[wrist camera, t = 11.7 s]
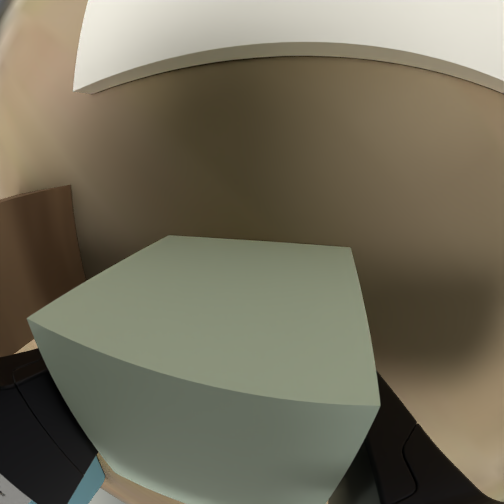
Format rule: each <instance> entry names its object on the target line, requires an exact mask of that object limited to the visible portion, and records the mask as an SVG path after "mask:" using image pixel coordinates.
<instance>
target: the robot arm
mask: <svg viewBox="0 0 504 504" xmlns="http://www.w3.org/2000/svg"><path fill="white" fill-rule="evenodd" d="M376 373H377V380H378V388H379V396H380V405H381V406H380V408H379V410H378V412H377V415H376V417H375V419H374V421H373V423H372V425H371V427H370V429H369V431H368V433H367V435H366V437H365V439H364V441H363V443H362V445H361V447H360V449H359V450H358V452H357V454H356V456H355V458H354V459H353V461H352V463H351V465H350V466H349V468H348V470H347V471H346V473H345V475H344V476H343V478H342V479H341V481H340V483H339V484H338V486H337V487H336V489H335V490H334V492H333V493H332V495H331V496H330V498H329V500H328V504H504V502H500V501H497V500H494V499H492V498H490V497H488V496H486V495H485V494H484V493H482V492H481V491H480V490H479V489H478V488H477V487H476V486H475V485H474V484H473V483H472V482H471V481H470V480H469V479H468V478H467V477H466V476H465V475H464V474H463V473H462V472H461V471H460V470H459V469H458V468H457V467H456V466H455V465H454V464H453V463H452V462H451V461H450V460H449V459H448V458H447V457H446V456H445V455H444V454H443V453H442V451H441V450H440V449H439V448H438V447H437V446H436V445H435V444H434V442H433V441H432V440H431V439H430V437H429V436H428V435H427V434H426V433H425V431H424V430H423V429H422V427H421V426H420V425H419V424H416V423H417V421H416V420H415V419H414V417H413V416H412V415H411V413H410V412H409V411H408V410H407V408H406V407H405V406H404V404H403V403H402V402H401V401H400V399H399V398H398V397H397V396H396V394H395V393H394V392H393V390H392V389H391V388H390V387H389V385H388V384H387V383H386V382H385V380H384V379H383V378H382V377H381V375H380V374H379V373H378V372H377V370H376ZM97 453H98V450H97V449H96V448H95V446H94V445H93V443H92V442H91V441H90V439H89V438H88V436H87V435H86V434H85V432H84V431H83V429H82V428H81V426H80V425H79V423H78V421H77V420H76V418H75V417H74V415H73V413H72V412H71V410H70V409H69V407H68V405H67V403H66V402H65V400H64V398H63V397H62V395H61V393H60V391H59V389H58V387H57V386H56V384H55V382H54V380H53V378H52V376H51V374H50V372H49V370H48V368H47V366H46V364H45V362H44V359H43V357H42V355H41V353H40V351H39V348H37V349H34V350H30V351H26V352H22V353H18V354H13V355H8V356H3V357H0V504H28V503H29V502H30V501H31V500H32V501H34V502H35V503H36V504H68V502H69V501H70V499H71V497H72V495H73V494H74V492H75V490H76V489H77V487H78V485H79V484H80V482H81V480H82V479H83V477H84V475H85V473H86V472H87V470H88V468H89V467H90V465H91V463H92V462H93V460H94V458H95V457H96V455H97Z"/></svg>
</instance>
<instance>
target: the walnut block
mask: <svg viewBox="0 0 504 504" xmlns="http://www.w3.org/2000/svg"><path fill="white" fill-rule="evenodd" d="M85 281H86V279H85V275H84V270H83V265H82V260H81V255H80V250H79V245H78V239H77V233H76V227H75V220H74V212H73V204H72V195H71V185H66V186H60V187H54V188H49V189H43V190H38V191H33V192H28V193H24V194H19V195H15V196H11V197H8V198H4V199H1V200H0V357H3V356H8V355H13V354H14V353H16V352H17V351H18V350H20V349H21V348H22V347H24V346H25V345H26V344H28V343H29V342H30V341H32V340H33V339H34V336H33V334H32V331H31V329H30V326H29V324H28V321H27V318H28V317H29V316H31V315H32V314H34V313H35V312H37V311H38V310H40V309H42V308H43V307H45V306H46V305H48V304H49V303H51V302H53V301H54V300H56V299H57V298H59V297H61V296H62V295H64V294H66V293H67V292H69V291H70V290H72V289H74V288H75V287H77V286H79V285H80V284H82V283H84V282H85Z"/></svg>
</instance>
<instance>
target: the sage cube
mask: <svg viewBox="0 0 504 504" xmlns="http://www.w3.org/2000/svg"><path fill="white" fill-rule="evenodd" d="M27 321H28V324H29V326H30V329H31V331H32V334H33V336H34V339H35V341H36V344H37V346H38V348H39V351H40V353H41V355H42V357H43V359H44V362H45V364H46V366H47V368H48V370H49V372H50V374H51V376H52V378H53V380H54V382H55V384H56V386H57V387H58V389H59V391H60V393H61V395H62V397H63V398H64V400H65V402H66V403H67V405H68V407H69V409H70V410H71V412H72V413H73V415H74V417H75V418H76V420H77V421H78V423H79V425H80V426H81V428H82V429H83V431H84V432H85V434H86V435H87V436H88V438H89V439H90V441H91V442H92V443H93V445H94V446H95V448H96V449H97V450H98V452H99V453H100V454H101V456H102V457H103V458H104V459H105V461H106V462H107V463H108V465H109V466H110V467H111V468H112V469H113V471H114V472H115V473H117V474H119V475H121V476H123V477H125V478H127V479H129V480H131V481H133V482H135V483H137V484H139V485H141V486H143V487H146V488H148V489H150V490H153V491H155V492H157V493H160V494H162V495H165V496H167V497H170V498H172V499H175V500H178V501H180V502H183V503H186V504H326V502H327V501H328V499H329V498H330V496H331V495H332V493H333V492H334V490H335V489H336V487H337V486H338V484H339V483H340V481H341V479H342V478H343V476H344V475H345V473H346V471H347V470H348V468H349V466H350V465H351V463H352V461H353V459H354V458H355V456H356V454H357V452H358V450H359V449H360V447H361V445H362V443H363V441H364V439H365V437H366V435H367V433H368V431H369V429H370V427H371V425H372V423H373V421H374V419H375V417H376V415H377V412H378V410H379V408H380V406H381V405H380V396H379V388H378V380H377V373H376V366H375V360H374V354H373V348H372V342H371V336H370V331H369V326H368V320H367V315H366V310H365V306H364V301H363V296H362V292H361V287H360V283H359V279H358V275H357V271H356V267H355V263H354V259H353V255H352V251H351V247H339V246H326V245H312V244H298V243H284V242H269V241H254V240H239V239H223V238H207V237H191V236H173V235H168V236H166V237H164V238H162V239H160V240H159V241H157V242H155V243H153V244H151V245H149V246H147V247H146V248H144V249H142V250H140V251H138V252H136V253H135V254H133V255H131V256H129V257H127V258H126V259H124V260H122V261H120V262H118V263H117V264H115V265H113V266H111V267H110V268H108V269H106V270H104V271H103V272H101V273H99V274H97V275H96V276H94V277H92V278H91V279H89V280H87V281H85V282H84V283H82V284H80V285H79V286H77V287H75V288H74V289H72V290H70V291H69V292H67V293H66V294H64V295H62V296H61V297H59V298H57V299H56V300H54V301H53V302H51V303H49V304H48V305H46V306H45V307H43V308H42V309H40V310H38V311H37V312H35V313H34V314H32V315H31V316H29V317H28V318H27Z"/></svg>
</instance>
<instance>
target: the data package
mask: <svg viewBox="0 0 504 504" xmlns="http://www.w3.org/2000/svg"><path fill="white" fill-rule="evenodd" d="M104 479H105V475H104V473H103V470H102V468H101V466H100V464H99V461H98V459H97V456H96V457H95V458H94V460H93V462H92V463H91V465H90V467H89V468H88V470H87V472H86V473H85V475H84V477H83V479H82V480H81V482H80V484H79V485H78V487H77V489H76V490H75V492H74V494H73V495H72V497H71V499H70V501H69V502H68V504H88V503H89V502H90V501H91V499H92V498H93V496H94V495H95V493H96V492H97V491H98V489H99V488H100V487H101V485H102V484H103V482H104ZM28 504H36V503H35V502H34V501H32V500H31V501H30V502H29V503H28Z"/></svg>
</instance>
